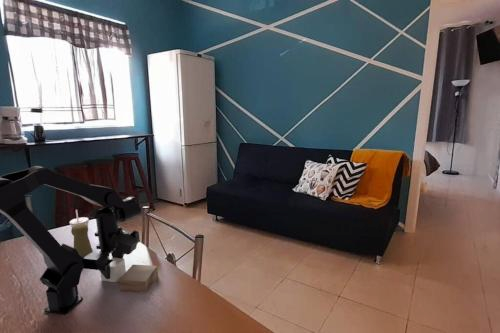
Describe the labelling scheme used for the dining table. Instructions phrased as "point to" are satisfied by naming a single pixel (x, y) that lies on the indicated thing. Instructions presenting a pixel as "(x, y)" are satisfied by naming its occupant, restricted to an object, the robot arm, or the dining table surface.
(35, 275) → the dining table surface
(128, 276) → the tan flat block
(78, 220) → the smoothie
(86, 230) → the olive drink cup
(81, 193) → the robot arm
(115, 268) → the white cube
